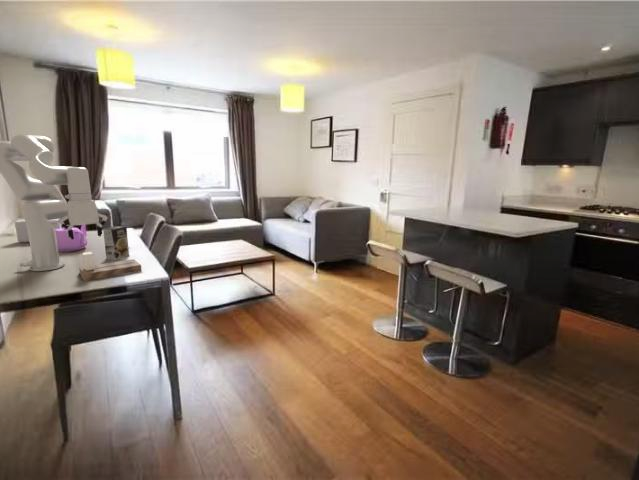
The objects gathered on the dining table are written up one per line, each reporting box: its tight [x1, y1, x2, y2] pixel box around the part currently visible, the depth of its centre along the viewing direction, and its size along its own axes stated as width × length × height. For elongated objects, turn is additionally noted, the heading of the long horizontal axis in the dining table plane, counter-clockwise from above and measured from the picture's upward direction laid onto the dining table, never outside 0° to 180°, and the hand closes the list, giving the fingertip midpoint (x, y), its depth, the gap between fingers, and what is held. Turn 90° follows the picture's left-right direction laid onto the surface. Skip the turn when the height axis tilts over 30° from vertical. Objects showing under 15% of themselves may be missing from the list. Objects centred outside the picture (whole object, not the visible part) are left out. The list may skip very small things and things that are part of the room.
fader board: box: [78, 258, 142, 282], centre depth 150 cm, size 22×12×3 cm, turn 133°
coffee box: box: [102, 225, 130, 261], centre depth 172 cm, size 9×6×16 cm
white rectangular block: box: [82, 251, 95, 271], centre depth 144 cm, size 3×4×7 cm
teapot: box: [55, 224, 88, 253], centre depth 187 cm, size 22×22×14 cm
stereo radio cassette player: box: [14, 219, 63, 243], centre depth 201 cm, size 21×8×20 cm, turn 115°
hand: (86, 237), depth 141 cm, fingers open, 9 cm apart
